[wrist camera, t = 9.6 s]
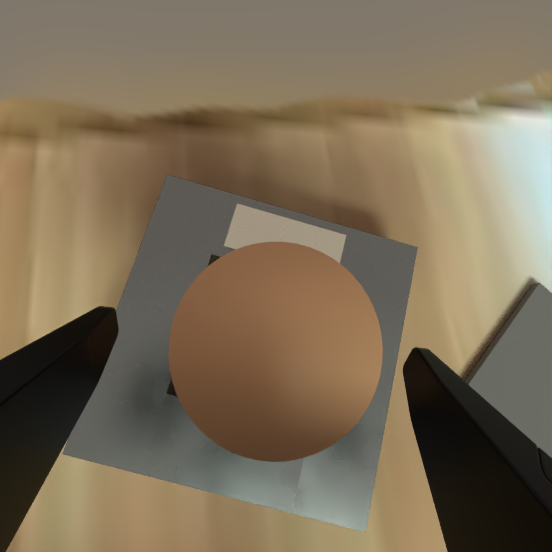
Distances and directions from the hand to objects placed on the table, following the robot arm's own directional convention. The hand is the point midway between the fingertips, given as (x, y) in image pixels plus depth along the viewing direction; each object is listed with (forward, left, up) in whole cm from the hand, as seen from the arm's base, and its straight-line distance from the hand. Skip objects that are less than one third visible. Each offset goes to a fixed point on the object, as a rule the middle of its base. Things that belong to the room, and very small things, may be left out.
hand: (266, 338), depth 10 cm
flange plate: (0, 0, -9) cm, 9 cm away
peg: (0, 0, -9) cm, 9 cm away
